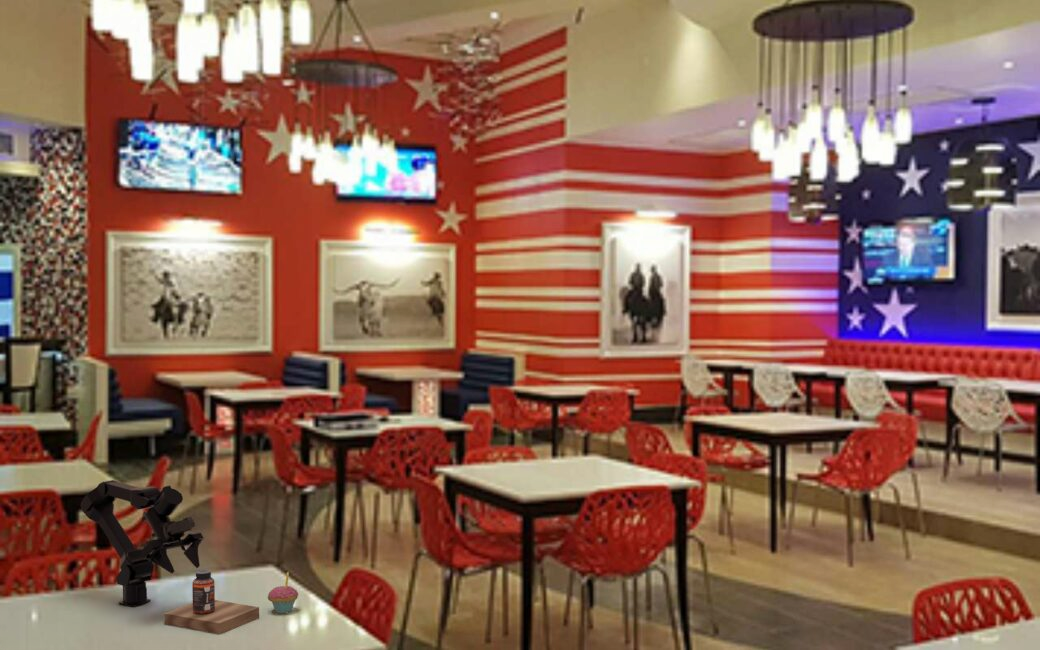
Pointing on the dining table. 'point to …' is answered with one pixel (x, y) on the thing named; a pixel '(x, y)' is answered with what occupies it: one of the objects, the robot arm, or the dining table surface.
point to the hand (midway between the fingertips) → (185, 569)
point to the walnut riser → (212, 617)
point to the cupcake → (283, 597)
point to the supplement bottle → (203, 592)
